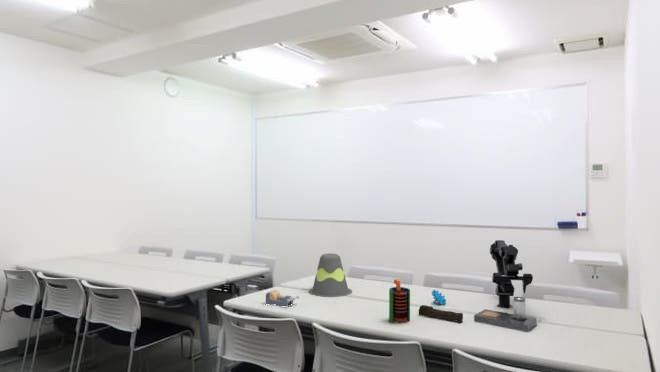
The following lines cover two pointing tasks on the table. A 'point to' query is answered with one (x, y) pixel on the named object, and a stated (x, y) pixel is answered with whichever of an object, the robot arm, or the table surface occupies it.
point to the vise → (279, 298)
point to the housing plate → (505, 320)
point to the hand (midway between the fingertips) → (514, 292)
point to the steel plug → (519, 308)
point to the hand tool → (440, 313)
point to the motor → (399, 303)
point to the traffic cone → (330, 278)
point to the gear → (438, 297)
